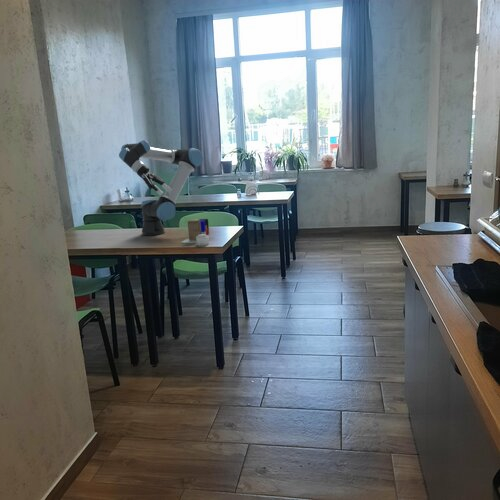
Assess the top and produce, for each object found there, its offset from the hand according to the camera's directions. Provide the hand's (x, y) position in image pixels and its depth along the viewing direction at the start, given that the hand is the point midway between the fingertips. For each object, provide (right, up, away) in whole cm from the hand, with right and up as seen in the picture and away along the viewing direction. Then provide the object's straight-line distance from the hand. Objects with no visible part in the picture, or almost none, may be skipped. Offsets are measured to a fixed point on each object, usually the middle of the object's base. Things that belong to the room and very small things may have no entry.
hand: (166, 192), depth 282 cm
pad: (+18, -29, +2) cm, 34 cm away
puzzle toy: (+18, -26, +18) cm, 36 cm away
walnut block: (+18, -28, +2) cm, 33 cm away
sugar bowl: (+23, -32, -10) cm, 41 cm away
